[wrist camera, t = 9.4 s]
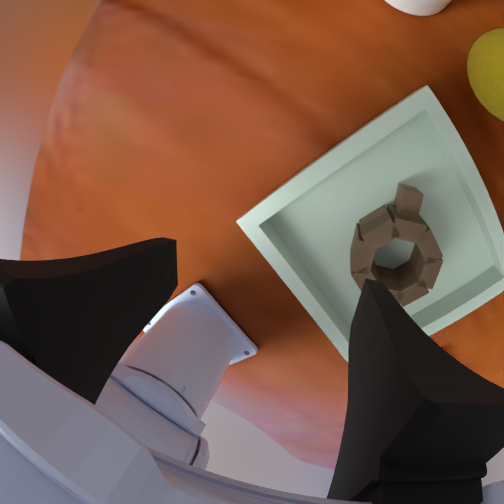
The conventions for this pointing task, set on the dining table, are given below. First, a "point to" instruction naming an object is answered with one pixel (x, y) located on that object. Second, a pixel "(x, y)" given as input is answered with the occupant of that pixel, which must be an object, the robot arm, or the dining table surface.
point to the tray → (383, 193)
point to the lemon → (488, 71)
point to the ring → (387, 229)
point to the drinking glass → (419, 6)
